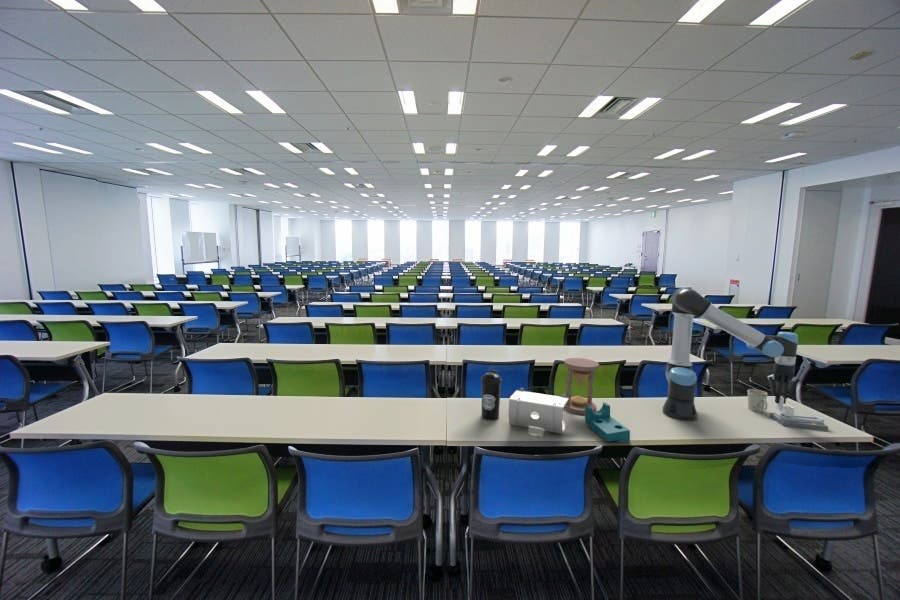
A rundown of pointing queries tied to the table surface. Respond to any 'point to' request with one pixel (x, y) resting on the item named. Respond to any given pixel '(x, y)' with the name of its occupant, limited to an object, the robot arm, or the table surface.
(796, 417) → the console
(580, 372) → the hourglass
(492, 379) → the water bottle
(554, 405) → the portable electronic device stand
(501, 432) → the table surface
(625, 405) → the table surface
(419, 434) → the table surface
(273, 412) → the table surface
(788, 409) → the fader tab
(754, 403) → the mug
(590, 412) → the teal l-shaped bracket
